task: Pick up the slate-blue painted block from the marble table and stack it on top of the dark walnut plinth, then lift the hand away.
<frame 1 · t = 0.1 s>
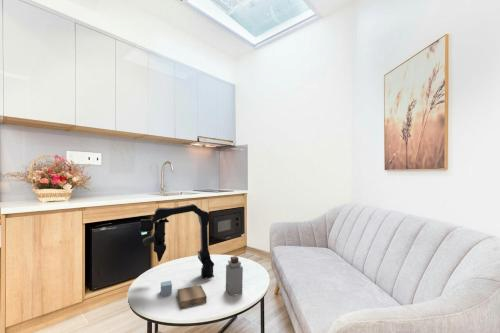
hand: (158, 258, 127), 15 cm above the table, fingers open, 9 cm apart
perfume bottle: (233, 291, 120), on the table
walnut plinth: (191, 298, 113), on the table
slate block: (166, 293, 118), on the table
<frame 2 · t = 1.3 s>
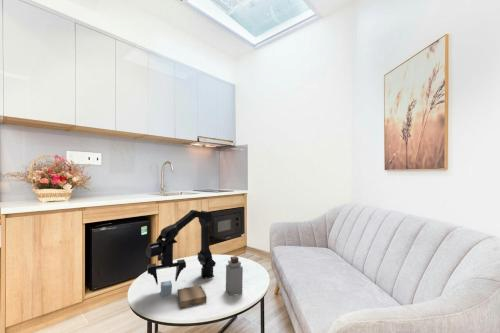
hand: (166, 282, 118), 5 cm above the table, fingers open, 9 cm apart
nothing on the table moved.
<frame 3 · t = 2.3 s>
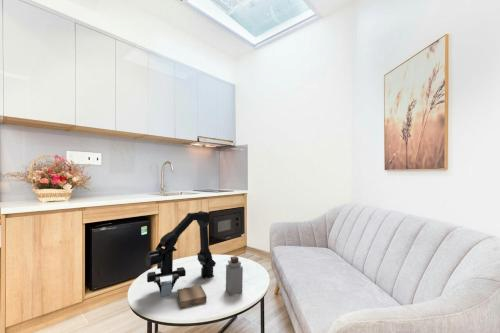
hand: (166, 290, 118), 1 cm above the table, fingers closed on slate block, 5 cm apart
slate block: (166, 292, 118), on the table, touching gripper
everything else where it was.
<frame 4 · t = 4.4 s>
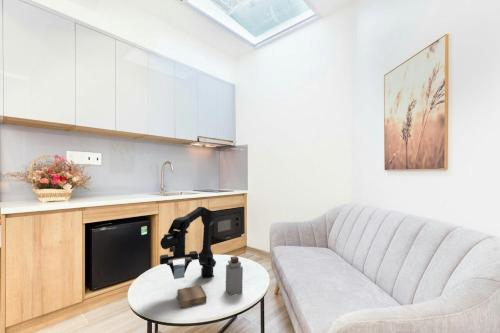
hand: (178, 274, 116), 11 cm above the table, fingers closed on slate block, 5 cm apart
slate block: (178, 276, 116), point 10 cm above the table, touching gripper
everything else where it was.
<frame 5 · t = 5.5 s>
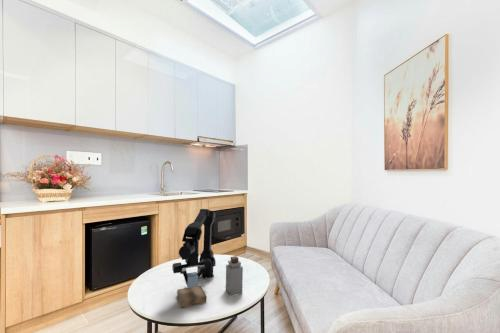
hand: (191, 282, 113), 8 cm above the table, fingers closed on slate block, 5 cm apart
slate block: (191, 284, 113), point 7 cm above the table, touching gripper
everything else where it was.
when the fingers open (5 cm above the table, at t = 6.4 s): slate block stays where it is, resting on walnut plinth.
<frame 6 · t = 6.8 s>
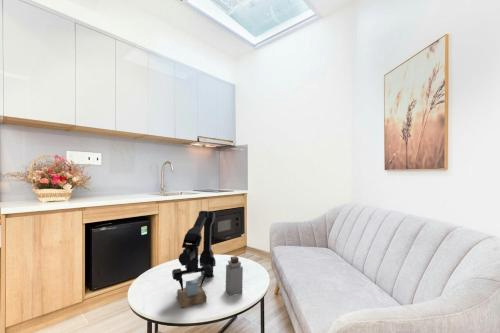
hand: (191, 288, 113), 5 cm above the table, fingers open, 9 cm apart
slate block: (191, 292, 113), point 3 cm above the table, touching walnut plinth
everything else where it was.
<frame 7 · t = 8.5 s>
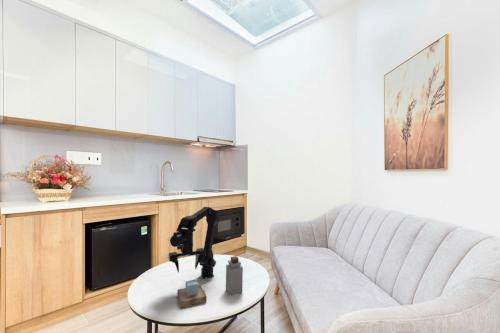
hand: (187, 270, 121), 11 cm above the table, fingers open, 9 cm apart
nothing on the table moved.
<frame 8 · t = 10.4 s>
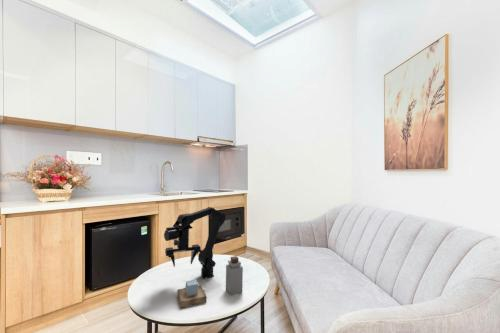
hand: (182, 265, 127), 11 cm above the table, fingers open, 9 cm apart
nothing on the table moved.
at the end: slate block inside the target area on the walnut plinth (0.1 cm from its centre), point 3.0 cm above the walnut plinth's base; slate block tilted 0°; the gripper is holding nothing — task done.
